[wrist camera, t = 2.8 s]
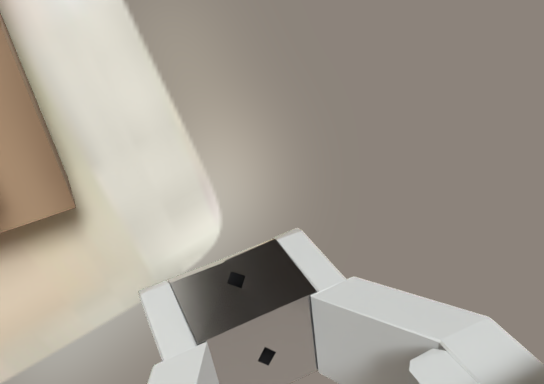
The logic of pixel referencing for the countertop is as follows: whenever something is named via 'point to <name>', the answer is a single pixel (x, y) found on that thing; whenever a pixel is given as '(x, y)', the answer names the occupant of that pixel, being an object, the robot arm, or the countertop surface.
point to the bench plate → (26, 150)
